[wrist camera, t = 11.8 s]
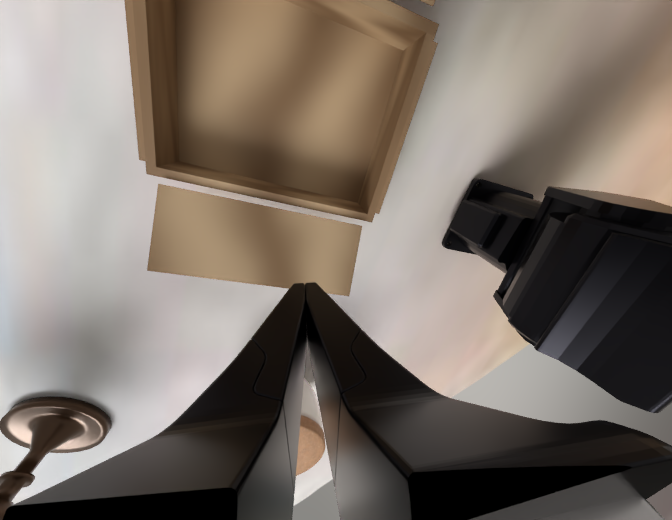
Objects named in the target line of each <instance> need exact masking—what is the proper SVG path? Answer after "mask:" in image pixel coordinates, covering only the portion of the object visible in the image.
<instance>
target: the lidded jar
mask: <svg viewBox="0 0 672 520" xmlns="http://www.w3.org/2000/svg"><path fill="white" fill-rule="evenodd" d="M324 450H325V438H324V432H323V430H322V420H321V413H320V408H319V404H318V401H317V398H316V395H315V392H314V390H313V389H312V387H311V385H310V384H309V383H308V381H307V380H306V379H305V378H304V384H303V396H302V408H301V420H300V432H299V444H298V455H297V467H296V476H297V475H299V474H301V473H303V472H305V471H307V470H308V469H310V468H311V467H313V466H314V465H315V464H316V463H317V462H318V461H319V460H320V458H321V457H322V455H323V453H324Z"/></svg>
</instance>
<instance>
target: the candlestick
mask: <svg viewBox="0 0 672 520" xmlns="http://www.w3.org/2000/svg"><path fill="white" fill-rule="evenodd" d="M110 428H111V420H110V418H109V417H108V415H107V414H106V413H105V412H104V411H102V410H101V409H99V408H98V407H96V406H94V405H92V404H89V403H86V402H83V401H80V400H76V399H71V398H64V397H39V398H33V399H29V400H26V401H23V402H21V403H19V404H17V405H15V406H14V407H13V408H12V409H11V410H10V411H9V412H8V413H7V414H6V415H5V416H4V417H3V418H2V419H1V421H0V430H1V432H2V433H3V434H4V435H5V437H6V438H8V439H9V440H11V441H12V442H14V443H16V444H18V445H20V446H23V447H26V448H29V449H30V451H29V453H28V454H27V455H26V456H25V458H24V459H23V460H22V461H21V462H20V464H19V465H18V466H17V467H16V468H15V470H14V471H9V472H6V473H3V474H2V475H1V476H0V520H3V517H4V514H5V512H6V510H7V508H8V507H10V506H12V505H14V504H13V502H11V501H12V500H13V498H14V497H15V496H16V494H17V493H18V492H19V491H20V489H21V488H22V487H27V486H29V485H31V484H32V482H33V481H34V479H35V476H34V475H33V474H31V473H32V472H33V471H34V469H35V468H36V467H37V466H38V464H39V463H40V462H41V460H42V459H43V458H44V457H45V455H46V454H48V453H49V452H52V453H70V452H78V451H83V450H87V449H90V448H93V447H95V446H97V445H98V444H100V443H101V442H102V441H103V440H104V438H105V437H106V435H107V434H108V432H109V430H110Z"/></svg>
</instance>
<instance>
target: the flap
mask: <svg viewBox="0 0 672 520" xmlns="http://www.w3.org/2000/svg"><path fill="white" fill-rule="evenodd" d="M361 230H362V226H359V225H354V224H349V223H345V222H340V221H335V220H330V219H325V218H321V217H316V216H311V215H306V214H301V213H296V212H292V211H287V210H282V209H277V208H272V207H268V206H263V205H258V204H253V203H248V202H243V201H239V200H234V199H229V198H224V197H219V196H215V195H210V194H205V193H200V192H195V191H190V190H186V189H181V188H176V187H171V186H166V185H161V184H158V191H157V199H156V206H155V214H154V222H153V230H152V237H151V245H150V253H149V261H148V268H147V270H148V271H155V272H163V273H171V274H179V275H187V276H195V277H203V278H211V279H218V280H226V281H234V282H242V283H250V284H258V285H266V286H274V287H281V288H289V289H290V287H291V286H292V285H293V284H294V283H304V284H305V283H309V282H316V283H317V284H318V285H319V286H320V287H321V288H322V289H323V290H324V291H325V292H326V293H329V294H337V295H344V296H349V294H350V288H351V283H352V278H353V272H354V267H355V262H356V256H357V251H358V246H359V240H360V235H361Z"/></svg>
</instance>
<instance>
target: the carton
mask: <svg viewBox="0 0 672 520" xmlns="http://www.w3.org/2000/svg"><path fill="white" fill-rule="evenodd" d="M125 10H126V21H127V32H128V43H129V53H130V64H131V75H132V86H133V97H134V107H135V118H136V129H137V140H138V151H139V160H143V161H146V172H147V174H149V175H154V176H158V177H163V178H168V179H173V180H177V181H182V182H187V183H191V184H196V185H201V186H205V187H210V188H215V189H219V190H224V191H229V192H233V193H238V194H243V195H247V196H252V197H257V198H261V199H266V200H271V201H275V202H280V203H285V204H289V205H294V206H299V207H303V208H308V209H313V210H317V211H322V212H327V213H331V214H336V215H341V216H345V217H350V218H355V219H359V220H364V221H369V222H372V221H373V218H374V215H375V213H378V214H379V212H380V209H381V206H382V204H383V201H384V198H385V195H386V192H387V189H388V186H389V183H390V180H391V178H392V175H393V172H394V169H395V166H396V163H397V160H398V157H399V154H400V151H401V149H402V146H403V143H404V140H405V137H406V134H407V131H408V128H409V125H410V123H411V120H412V117H413V114H414V111H415V108H416V105H417V102H418V99H419V97H420V94H421V91H422V88H423V85H424V82H425V79H426V76H427V73H428V70H429V68H430V65H431V62H432V59H433V56H434V53H435V50H436V47H437V44H438V43H436V42H434V41H433V40H434V37H435V34H436V31H437V28H438V25H439V24H437V23H435V22H433V21H431V20H429V19H427V18H424V17H422V16H420V15H418V14H416V13H414V12H412V11H410V10H408V9H406V8H403V7H401V6H399V5H397V4H395V3H393V2H391V1H389V0H125Z"/></svg>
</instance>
